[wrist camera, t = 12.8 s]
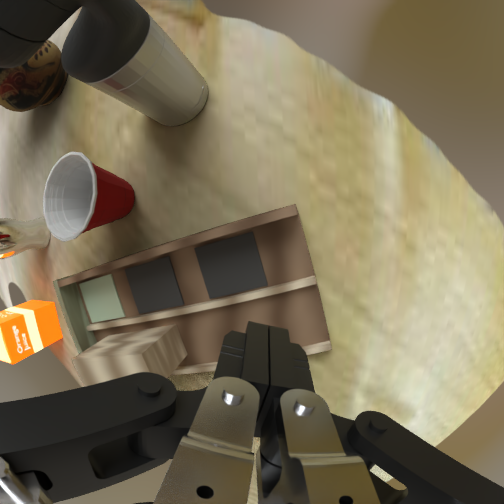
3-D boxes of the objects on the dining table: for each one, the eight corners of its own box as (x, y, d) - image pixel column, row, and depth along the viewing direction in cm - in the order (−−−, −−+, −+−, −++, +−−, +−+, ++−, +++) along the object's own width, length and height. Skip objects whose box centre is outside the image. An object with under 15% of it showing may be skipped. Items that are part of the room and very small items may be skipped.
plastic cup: (122, 148, 38) (69, 133, 26) (162, 196, 38) (109, 192, 26) (84, 199, 40) (30, 199, 28) (118, 248, 40) (64, 260, 28)
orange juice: (63, 338, 46) (-8, 377, 26) (40, 332, 47) (-25, 364, 28) (54, 301, 45) (-24, 332, 25) (32, 298, 46) (-38, 324, 27)
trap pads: (140, 313, 40) (139, 314, 40) (125, 269, 39) (124, 269, 39) (268, 284, 36) (267, 285, 36) (252, 231, 35) (252, 231, 35)
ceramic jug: (77, 40, 37) (-19, -11, 8) (80, 89, 38) (-45, 42, 9) (29, 84, 40) (-63, 58, 11) (29, 135, 42) (-82, 119, 12)
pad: (93, 322, 42) (92, 322, 42) (80, 283, 42) (79, 284, 41) (125, 316, 40) (124, 316, 40) (111, 273, 40) (110, 273, 40)
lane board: (110, 374, 44) (94, 387, 39) (72, 275, 43) (52, 281, 38) (330, 344, 36) (334, 363, 31) (295, 204, 35) (294, 202, 30)
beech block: (119, 361, 42) (85, 389, 32) (108, 335, 42) (71, 359, 32) (187, 354, 39) (157, 389, 30) (175, 324, 39) (141, 353, 29)
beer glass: (44, 207, 42) (-18, 211, 28) (56, 238, 42) (-8, 249, 28) (29, 228, 44) (-28, 235, 29) (40, 257, 44) (-18, 271, 29)
